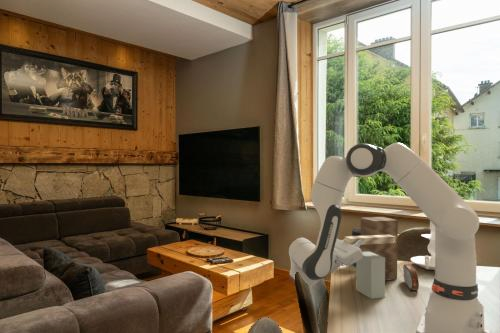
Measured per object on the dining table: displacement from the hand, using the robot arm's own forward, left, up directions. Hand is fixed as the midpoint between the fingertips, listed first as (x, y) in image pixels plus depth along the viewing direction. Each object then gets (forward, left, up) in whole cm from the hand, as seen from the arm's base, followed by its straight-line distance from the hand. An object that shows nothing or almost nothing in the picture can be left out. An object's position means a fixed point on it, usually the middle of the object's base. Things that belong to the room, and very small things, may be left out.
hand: (357, 239), depth 134 cm
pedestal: (+5, -3, -21) cm, 22 cm away
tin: (+24, -11, -22) cm, 34 cm away
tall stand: (+27, +4, -21) cm, 35 cm away
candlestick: (+58, -10, -22) cm, 62 cm away
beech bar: (+5, -3, -2) cm, 6 cm away
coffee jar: (+37, +17, -22) cm, 46 cm away
